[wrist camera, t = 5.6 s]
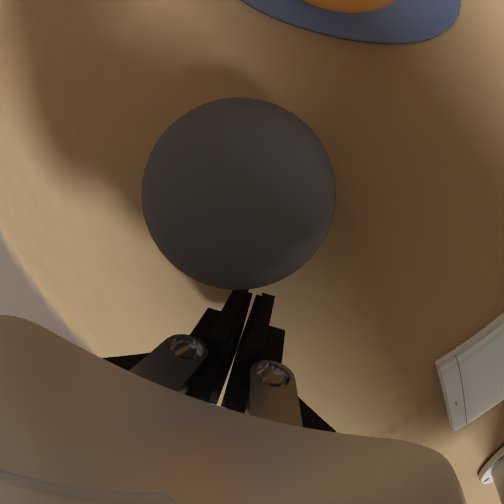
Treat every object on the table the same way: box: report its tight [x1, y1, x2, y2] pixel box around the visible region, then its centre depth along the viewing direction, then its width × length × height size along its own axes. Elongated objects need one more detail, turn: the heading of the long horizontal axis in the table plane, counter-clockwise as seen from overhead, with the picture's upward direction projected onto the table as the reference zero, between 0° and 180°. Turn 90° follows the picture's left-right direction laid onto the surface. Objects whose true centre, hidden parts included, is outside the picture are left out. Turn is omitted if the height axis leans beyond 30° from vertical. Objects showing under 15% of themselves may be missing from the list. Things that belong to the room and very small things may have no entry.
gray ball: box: [142, 98, 336, 290], centre depth 9 cm, size 6×6×6 cm
